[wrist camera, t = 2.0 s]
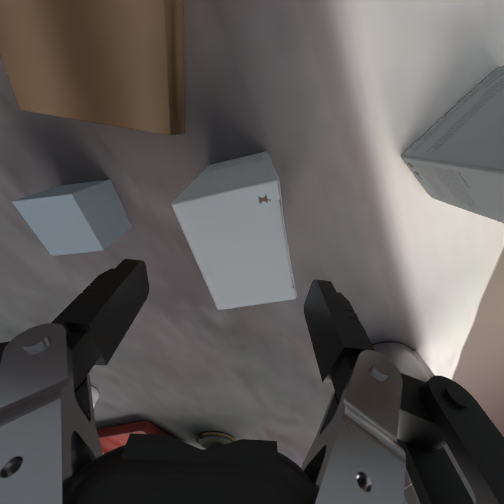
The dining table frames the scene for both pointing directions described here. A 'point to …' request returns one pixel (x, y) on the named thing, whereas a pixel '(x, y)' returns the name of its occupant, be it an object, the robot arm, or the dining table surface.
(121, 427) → the plant saucer
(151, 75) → the walnut slab
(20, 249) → the dining table surface
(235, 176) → the small box
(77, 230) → the blue-grey cube
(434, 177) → the skincare box
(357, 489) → the robot arm
